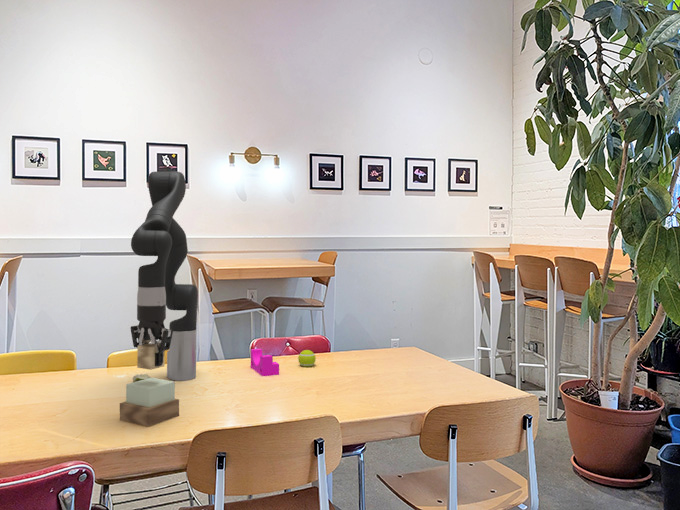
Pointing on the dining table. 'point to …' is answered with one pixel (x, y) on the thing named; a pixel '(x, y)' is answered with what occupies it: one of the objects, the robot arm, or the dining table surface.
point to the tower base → (149, 413)
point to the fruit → (140, 377)
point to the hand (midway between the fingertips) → (151, 364)
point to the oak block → (147, 357)
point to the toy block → (263, 363)
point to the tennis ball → (306, 358)
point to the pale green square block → (150, 392)
